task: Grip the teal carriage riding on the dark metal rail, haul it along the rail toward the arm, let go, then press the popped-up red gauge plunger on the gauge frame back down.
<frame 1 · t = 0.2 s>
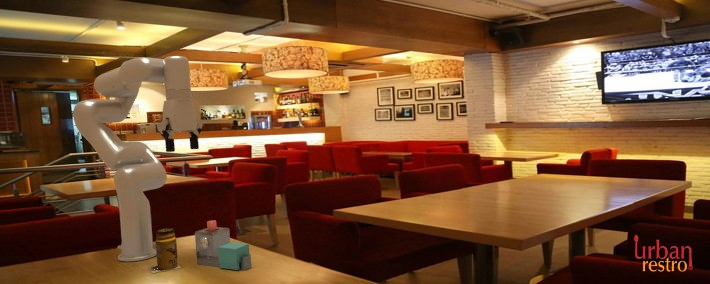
hand: (182, 150, 152), 36 cm above the table, tool pointing down, fingers open, 9 cm apart
rail: (223, 265, 150), on the table
condiment: (164, 268, 151), on the table
gauge frame: (213, 253, 165), on the table
gauge plunger: (212, 228, 165), point 8 cm above the table, slide at 0.0 cm
carriage: (234, 255, 148), point 3 cm above the table, slide at 4.5 cm
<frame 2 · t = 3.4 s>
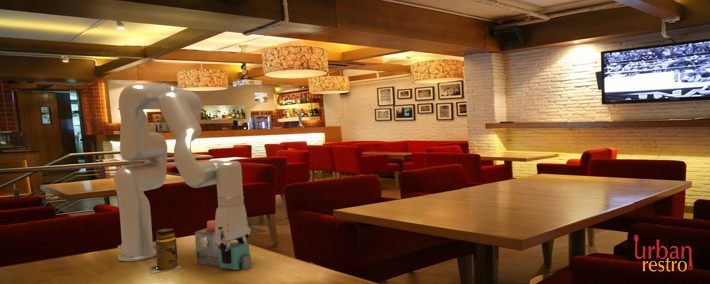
hand: (234, 259, 148), 2 cm above the table, tool pointing down, fingers closed on carriage, 6 cm apart
carriage: (234, 255, 148), point 3 cm above the table, slide at 4.5 cm, touching gripper
everything else where it was.
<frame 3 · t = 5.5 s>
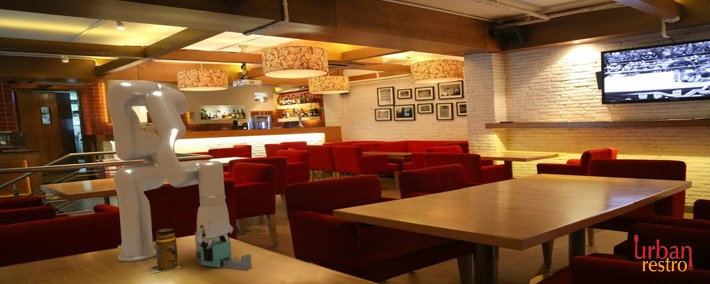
hand: (216, 257, 151), 2 cm above the table, tool pointing down, fingers closed on carriage, 6 cm apart
carriage: (216, 253, 151), point 4 cm above the table, slide at -2.9 cm, touching gripper
everything else where it was.
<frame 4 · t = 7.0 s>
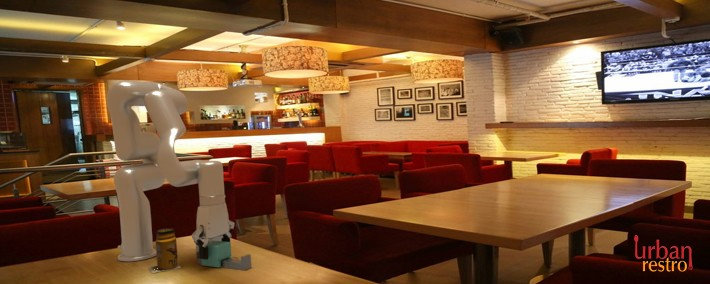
hand: (215, 254, 151), 3 cm above the table, tool pointing down, fingers open, 9 cm apart
carriage: (216, 253, 151), point 3 cm above the table, slide at -3.0 cm
everything else where it was.
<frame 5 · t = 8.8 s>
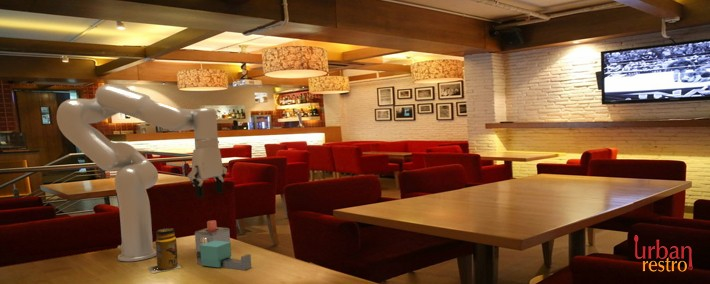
hand: (209, 195, 164), 20 cm above the table, tool pointing down, fingers open, 8 cm apart
nothing on the table moved.
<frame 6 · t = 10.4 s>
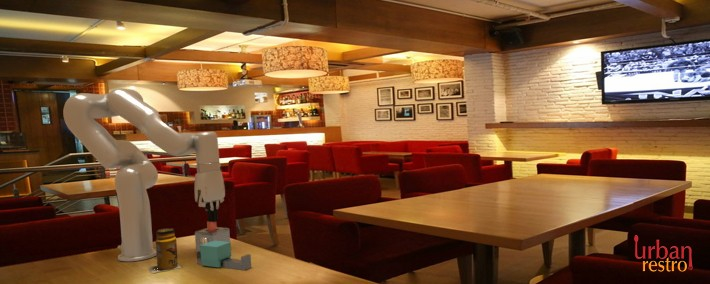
hand: (213, 221, 165), 11 cm above the table, tool pointing down, fingers closed
gauge plunger: (212, 228, 165), point 8 cm above the table, slide at 0.0 cm, touching gripper
everything else where it was.
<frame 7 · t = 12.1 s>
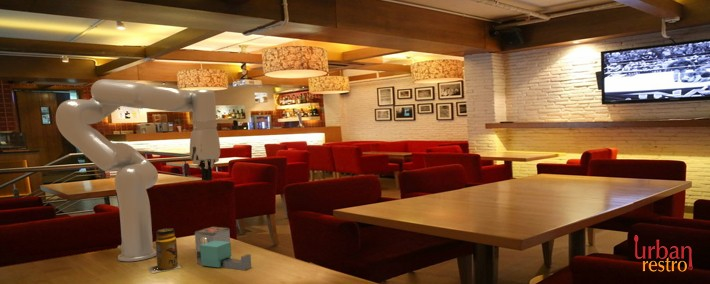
hand: (207, 180, 164), 25 cm above the table, tool pointing down, fingers closed
gauge plunger: (212, 236, 165), point 6 cm above the table, slide at -2.8 cm
everything else where it was.
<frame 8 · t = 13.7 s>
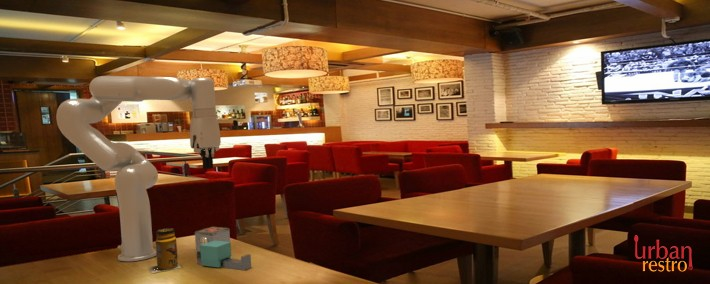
hand: (208, 168, 164), 29 cm above the table, tool pointing down, fingers closed
nothing on the table moved.
at the end: carriage slide at -3.0 cm; gauge plunger slide at -2.8 cm; the gripper is holding nothing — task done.
